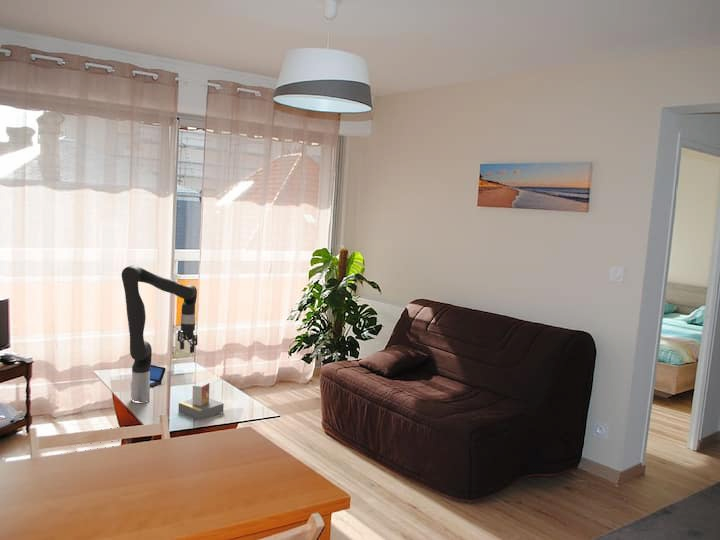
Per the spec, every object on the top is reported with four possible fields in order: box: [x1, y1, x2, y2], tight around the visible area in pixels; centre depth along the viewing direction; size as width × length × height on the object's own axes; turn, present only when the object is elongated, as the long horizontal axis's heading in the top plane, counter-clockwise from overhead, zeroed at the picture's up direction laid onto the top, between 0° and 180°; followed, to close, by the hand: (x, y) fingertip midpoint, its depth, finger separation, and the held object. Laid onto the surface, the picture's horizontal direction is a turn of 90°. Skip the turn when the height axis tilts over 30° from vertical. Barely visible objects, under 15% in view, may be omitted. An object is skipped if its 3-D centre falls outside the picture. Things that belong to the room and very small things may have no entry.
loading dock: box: [178, 397, 225, 421], centre depth 323 cm, size 17×16×5 cm
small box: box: [192, 381, 211, 406], centre depth 322 cm, size 8×6×10 cm
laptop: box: [150, 364, 167, 388], centre depth 365 cm, size 16×13×9 cm
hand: (187, 350), depth 331 cm, fingers open, 8 cm apart
